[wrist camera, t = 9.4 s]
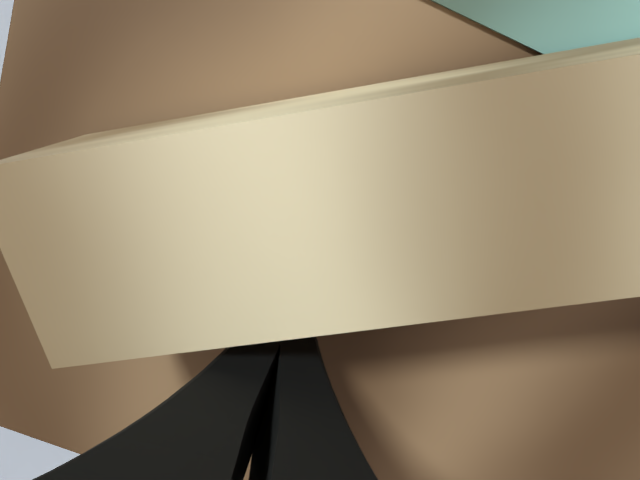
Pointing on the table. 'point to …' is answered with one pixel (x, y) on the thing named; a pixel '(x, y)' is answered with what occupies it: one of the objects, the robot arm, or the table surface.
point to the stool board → (345, 348)
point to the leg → (335, 211)
